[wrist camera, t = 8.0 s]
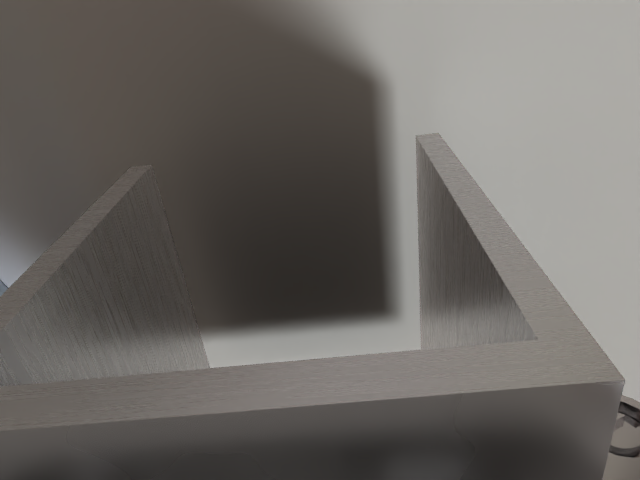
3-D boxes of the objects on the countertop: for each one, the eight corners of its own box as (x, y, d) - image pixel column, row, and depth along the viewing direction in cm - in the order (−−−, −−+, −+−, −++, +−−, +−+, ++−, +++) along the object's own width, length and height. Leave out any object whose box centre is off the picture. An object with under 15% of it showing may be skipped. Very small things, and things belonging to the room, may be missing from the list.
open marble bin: (439, 371, 14) (545, 726, 7) (199, 392, 15) (96, 746, 8) (438, 132, 11) (626, 379, 4) (130, 167, 11) (-148, 443, 5)
